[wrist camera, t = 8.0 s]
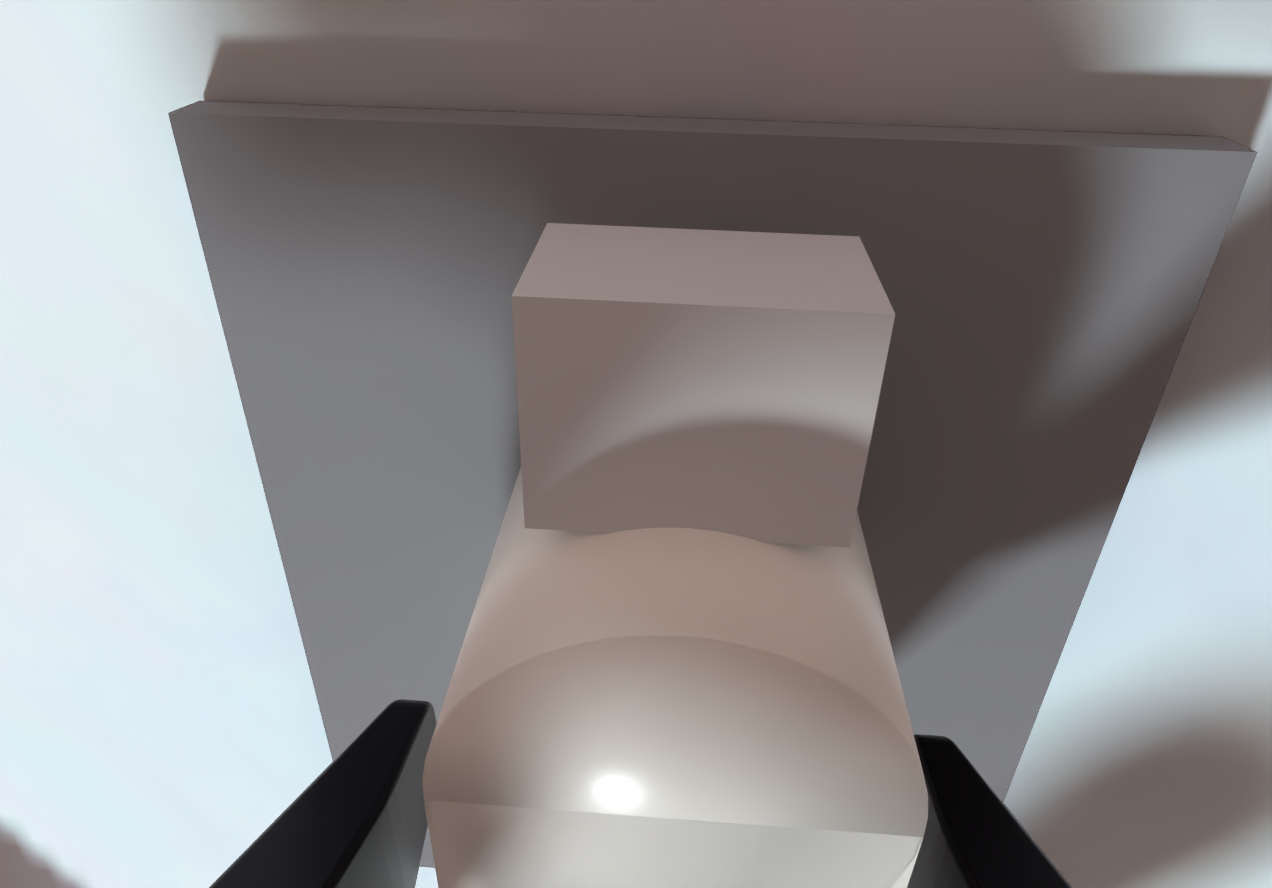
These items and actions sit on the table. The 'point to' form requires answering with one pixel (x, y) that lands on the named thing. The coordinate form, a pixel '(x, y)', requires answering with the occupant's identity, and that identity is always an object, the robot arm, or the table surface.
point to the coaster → (706, 200)
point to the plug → (683, 583)
